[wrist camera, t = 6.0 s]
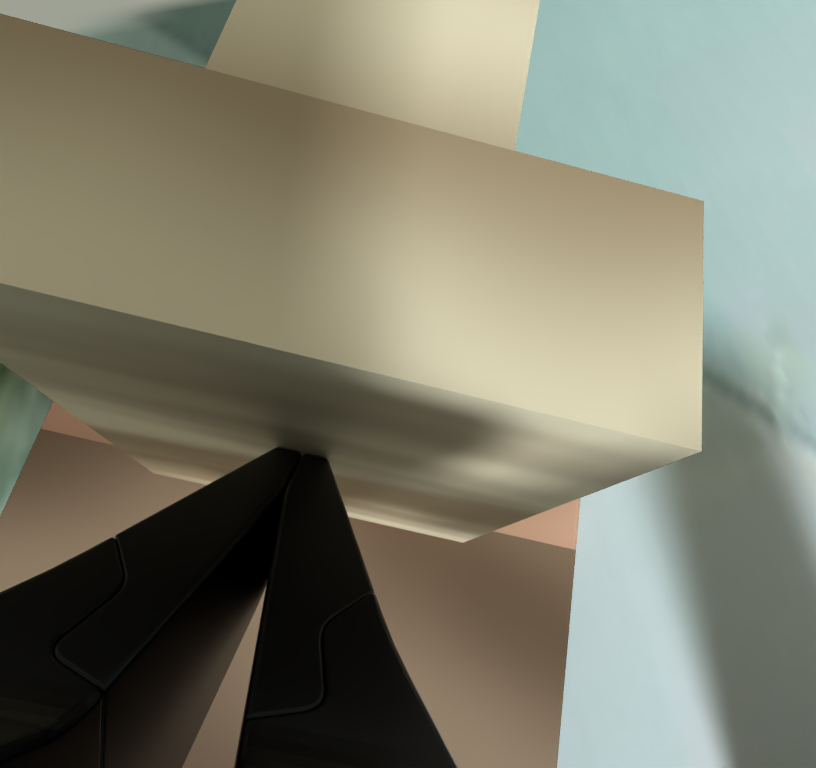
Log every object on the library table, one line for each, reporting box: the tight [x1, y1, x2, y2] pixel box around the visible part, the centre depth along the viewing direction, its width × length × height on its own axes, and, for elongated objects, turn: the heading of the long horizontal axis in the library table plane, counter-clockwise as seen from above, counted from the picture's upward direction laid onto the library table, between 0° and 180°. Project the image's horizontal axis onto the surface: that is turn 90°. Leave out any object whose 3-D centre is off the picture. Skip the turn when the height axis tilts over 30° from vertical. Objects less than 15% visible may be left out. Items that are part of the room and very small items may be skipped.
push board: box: [0, 401, 580, 768], centre depth 14 cm, size 25×14×1 cm, turn 168°
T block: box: [0, 0, 704, 543], centre depth 12 cm, size 10×8×10 cm
